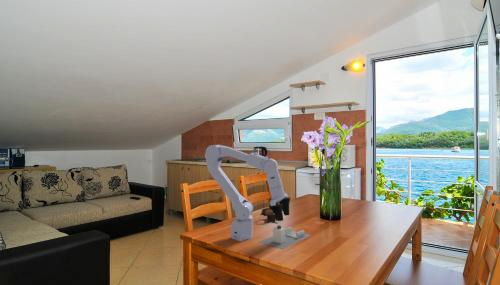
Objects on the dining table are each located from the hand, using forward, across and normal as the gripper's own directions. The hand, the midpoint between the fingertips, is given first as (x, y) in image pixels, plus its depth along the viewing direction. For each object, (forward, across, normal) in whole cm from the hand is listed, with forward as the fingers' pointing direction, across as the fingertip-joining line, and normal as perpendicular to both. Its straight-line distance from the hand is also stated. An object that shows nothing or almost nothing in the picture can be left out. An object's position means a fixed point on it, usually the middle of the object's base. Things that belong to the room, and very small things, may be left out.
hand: (284, 217), depth 126 cm
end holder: (+11, +6, +1) cm, 13 cm away
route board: (+10, +1, +2) cm, 10 cm away
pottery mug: (+8, +25, +19) cm, 33 cm away
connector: (+8, -4, +3) cm, 10 cm away
